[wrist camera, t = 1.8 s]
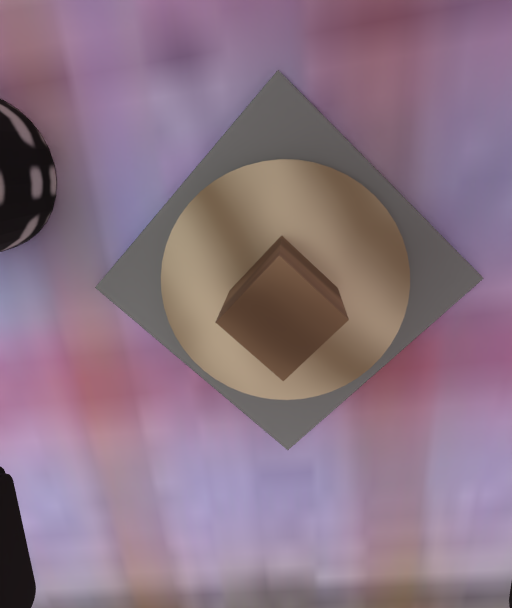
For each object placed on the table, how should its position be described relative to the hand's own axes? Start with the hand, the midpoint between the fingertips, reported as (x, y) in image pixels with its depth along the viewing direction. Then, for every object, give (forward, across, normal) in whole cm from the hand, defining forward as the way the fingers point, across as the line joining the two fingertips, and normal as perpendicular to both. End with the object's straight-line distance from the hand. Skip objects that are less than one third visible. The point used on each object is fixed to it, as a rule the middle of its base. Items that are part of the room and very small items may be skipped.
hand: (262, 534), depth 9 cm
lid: (+18, 0, 0) cm, 18 cm away
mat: (+19, 0, 0) cm, 19 cm away
